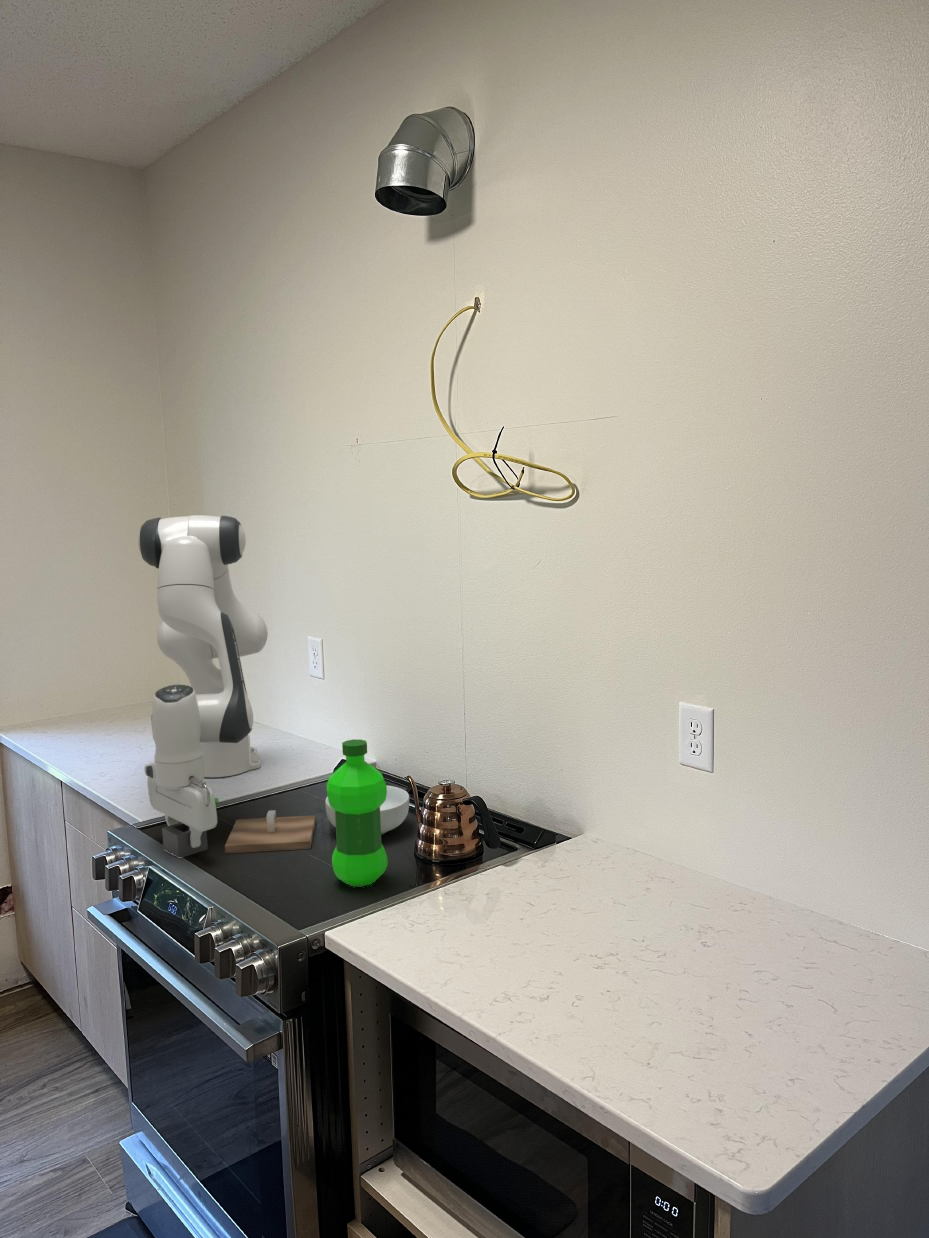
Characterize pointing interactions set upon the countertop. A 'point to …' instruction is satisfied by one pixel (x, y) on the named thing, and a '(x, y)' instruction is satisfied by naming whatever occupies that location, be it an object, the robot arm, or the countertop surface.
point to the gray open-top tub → (181, 840)
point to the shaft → (271, 821)
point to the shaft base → (271, 834)
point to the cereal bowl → (385, 809)
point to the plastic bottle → (357, 817)
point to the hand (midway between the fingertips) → (185, 841)
